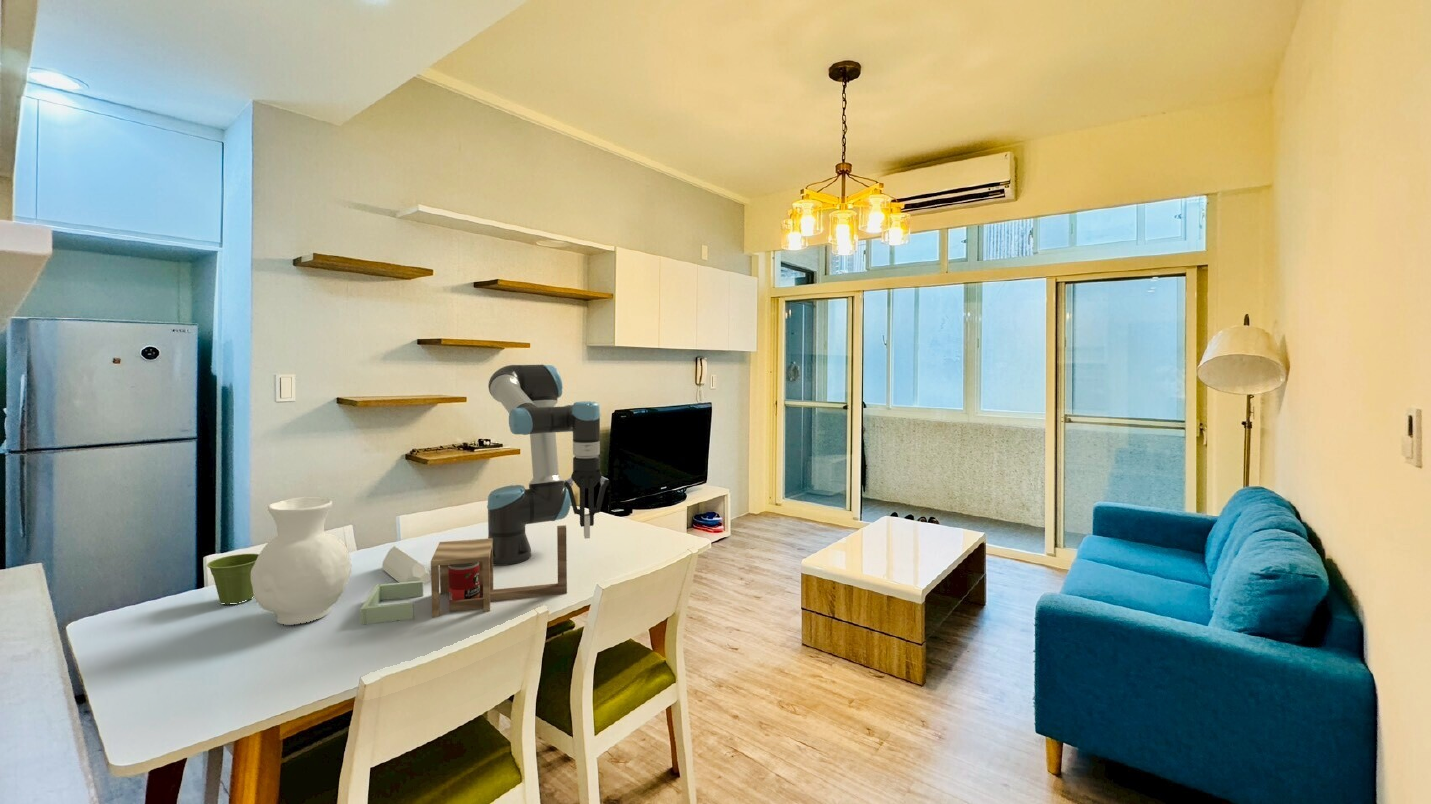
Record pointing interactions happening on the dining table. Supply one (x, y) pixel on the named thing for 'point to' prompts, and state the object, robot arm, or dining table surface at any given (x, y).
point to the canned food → (464, 581)
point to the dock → (390, 611)
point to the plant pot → (233, 577)
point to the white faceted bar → (404, 567)
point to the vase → (300, 563)
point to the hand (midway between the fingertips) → (586, 537)
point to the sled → (527, 590)
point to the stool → (456, 555)
